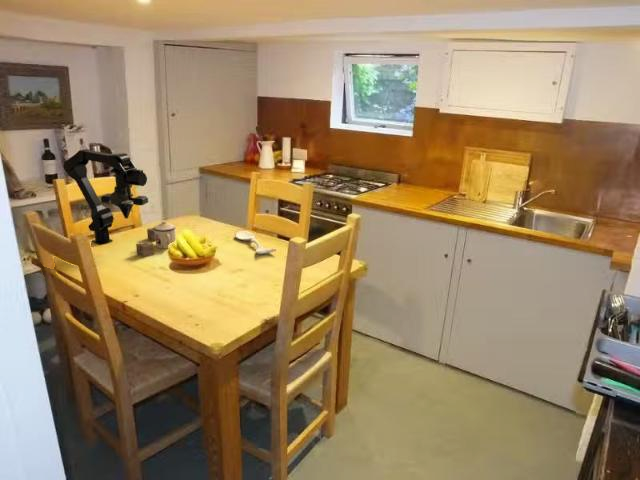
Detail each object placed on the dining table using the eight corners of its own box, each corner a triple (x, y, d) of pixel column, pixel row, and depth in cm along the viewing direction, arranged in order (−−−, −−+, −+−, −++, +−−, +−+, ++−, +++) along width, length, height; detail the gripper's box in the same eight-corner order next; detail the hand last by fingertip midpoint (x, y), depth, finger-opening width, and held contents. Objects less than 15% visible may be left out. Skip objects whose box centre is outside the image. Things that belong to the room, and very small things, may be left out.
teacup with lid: (153, 243, 212) (151, 219, 208) (173, 241, 216) (172, 217, 212) (159, 252, 202) (157, 227, 198) (180, 249, 206) (178, 224, 203)
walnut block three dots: (147, 239, 217) (146, 228, 216) (156, 236, 221) (155, 226, 220) (154, 241, 215) (154, 231, 213) (163, 238, 219) (162, 228, 217)
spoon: (258, 259, 200) (258, 251, 199) (232, 236, 226) (232, 230, 225) (277, 256, 205) (277, 248, 204) (249, 234, 231) (249, 227, 229)
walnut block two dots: (137, 255, 198) (136, 243, 197) (146, 251, 202) (145, 240, 201) (144, 257, 196) (143, 246, 194) (154, 254, 200) (153, 243, 198)
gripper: (91, 186, 191) (96, 222, 197) (134, 189, 190) (138, 225, 195) (106, 180, 202) (110, 215, 207) (147, 183, 200) (150, 217, 205)
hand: (126, 218), depth 203 cm, fingers closed
